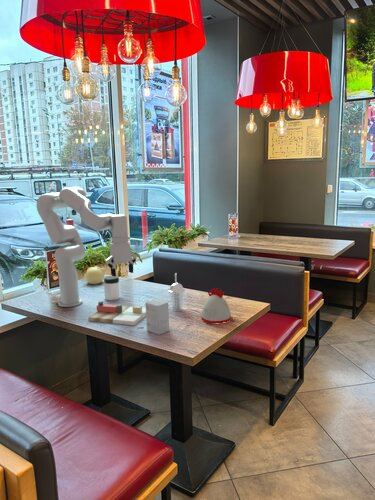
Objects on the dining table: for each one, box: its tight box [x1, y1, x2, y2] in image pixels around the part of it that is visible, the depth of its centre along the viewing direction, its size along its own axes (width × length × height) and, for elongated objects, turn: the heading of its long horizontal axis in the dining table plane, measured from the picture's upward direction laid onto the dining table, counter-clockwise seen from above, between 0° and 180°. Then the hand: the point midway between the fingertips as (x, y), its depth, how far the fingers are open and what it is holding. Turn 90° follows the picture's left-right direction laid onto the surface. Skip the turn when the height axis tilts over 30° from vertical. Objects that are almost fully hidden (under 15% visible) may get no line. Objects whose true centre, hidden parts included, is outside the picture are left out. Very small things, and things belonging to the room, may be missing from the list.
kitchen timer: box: [200, 287, 232, 324], centre depth 180 cm, size 14×14×15 cm
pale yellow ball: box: [85, 265, 106, 285], centre depth 249 cm, size 12×12×11 cm
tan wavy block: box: [88, 304, 130, 324], centre depth 189 cm, size 13×18×5 cm
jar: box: [103, 275, 121, 301], centre depth 216 cm, size 9×8×12 cm
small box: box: [145, 298, 170, 336], centre depth 168 cm, size 8×6×13 cm
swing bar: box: [96, 301, 117, 313], centre depth 189 cm, size 10×3×4 cm, turn 72°
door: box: [112, 305, 146, 326], centre depth 186 cm, size 11×18×4 cm, turn 162°
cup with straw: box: [167, 272, 186, 312], centre depth 193 cm, size 8×9×20 cm
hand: (122, 274), depth 191 cm, fingers open, 9 cm apart
